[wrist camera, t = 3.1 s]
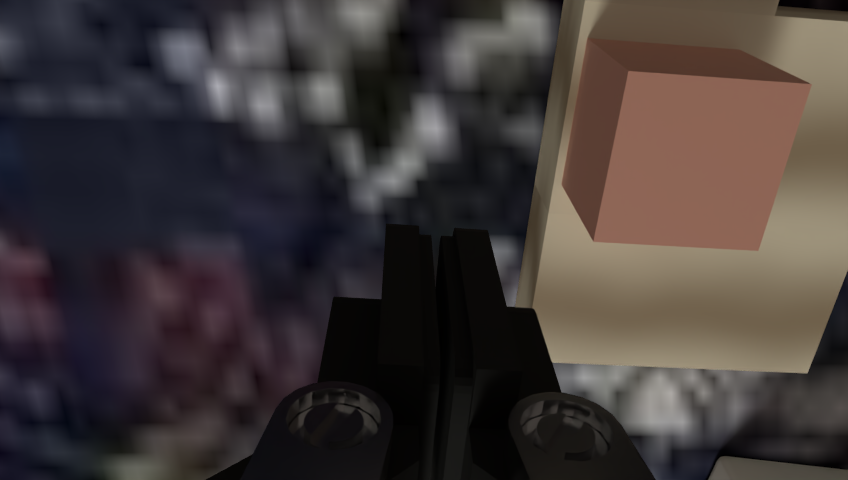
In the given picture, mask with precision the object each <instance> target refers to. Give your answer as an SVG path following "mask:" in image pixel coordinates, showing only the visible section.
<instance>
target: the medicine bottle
mask: <svg viewBox="0 0 848 480" xmlns="http://www.w3.org/2000/svg"><path fill="white" fill-rule="evenodd" d="M708 480H848V470H844V469H835V468H827V467H818V466H809V465H800V464H792V463H783V462H774V461H765V460H757V459H748V458H739V457H730V456H722V457H720V458H719V459H718V460H717V462H716V464H715V466H714V468H713V470H712V472H711V474H710V477H709V479H708Z"/></svg>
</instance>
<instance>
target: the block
mask: <svg viewBox="0 0 848 480" xmlns="http://www.w3.org/2000/svg"><path fill="white" fill-rule="evenodd" d="M811 86H812V84H810V83H808V82H806V81H804V80H802V79H800V78H798V77H796V76H794V75H792V74H790V73H787V72H785V71H783V70H781V69H779V68H777V67H775V66H773V65H771V64H769V63H767V62H764V61H762V60H760V59H758V58H756V57H754V56H752V55H750V54H748V53H746V52H744V51H742V50H738V49H725V48H712V47H698V46H685V45H672V44H659V43H645V42H632V41H619V40H605V39H592V38H587V42H586V48H585V54H584V59H583V65H582V71H581V76H580V82H579V88H578V93H577V99H576V105H575V110H574V116H573V122H572V127H571V133H570V139H569V144H568V150H567V155H566V161H565V167H564V172H563V178H562V184H561V185H562V187H563V189H564V190H565V192H566V194H567V196H568V197H569V199H570V201H571V203H572V205H573V206H574V208H575V210H576V212H577V214H578V215H579V217H580V219H581V221H582V223H583V224H584V226H585V228H586V230H587V231H588V233H589V235H590V237H591V239H592V240H593V242H604V243H622V244H640V245H659V246H677V247H695V248H713V249H732V250H750V251H759V247H760V244H761V241H762V238H763V235H764V232H765V229H766V226H767V223H768V219H769V216H770V213H771V210H772V207H773V204H774V201H775V198H776V195H777V191H778V188H779V185H780V182H781V179H782V176H783V173H784V170H785V167H786V163H787V160H788V157H789V154H790V151H791V148H792V145H793V142H794V139H795V135H796V132H797V129H798V126H799V123H800V120H801V117H802V114H803V111H804V107H805V104H806V101H807V98H808V95H809V92H810V89H811Z"/></svg>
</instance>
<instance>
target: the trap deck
mask: <svg viewBox="0 0 848 480" xmlns="http://www.w3.org/2000/svg"><path fill="white" fill-rule="evenodd" d="M778 3H779V0H564V2H563V8H562V15H561V21H560V27H559V34H558V40H557V46H556V52H555V59H554V65H553V71H552V78H551V84H550V90H549V96H548V103H547V109H546V115H545V122H544V128H543V134H542V141H541V147H540V153H539V159H538V166H537V172H536V178H535V185H534V191H533V197H532V203H531V210H530V216H529V222H528V229H527V235H526V241H525V248H524V254H523V260H522V266H521V273H520V279H519V285H518V292H517V298H516V304H515V307H522V308H533V309H534V310H535V312H536V314H537V317H538V320H539V323H540V326H541V330H542V333H543V336H544V339H545V342H546V345H547V348H548V352H549V355H550V358H551V361H552V362H553V363H577V364H600V365H623V366H647V367H670V368H694V369H717V370H741V371H764V372H787V373H808V371H809V368H810V366H811V363H812V360H813V358H814V355H815V353H816V350H817V348H818V345H819V342H820V340H821V337H822V335H823V332H824V330H825V327H826V324H827V322H828V319H829V317H830V314H831V312H832V309H833V306H834V304H835V301H836V299H837V296H838V294H839V291H840V288H841V286H842V283H843V281H844V278H845V276H846V273H847V270H848V12H846V11H834V10H821V9H809V8H796V7H784V6H778ZM587 38H592V39H605V40H619V41H632V42H645V43H659V44H672V45H685V46H698V47H712V48H725V49H738V50H742V51H744V52H746V53H748V54H750V55H752V56H754V57H756V58H758V59H760V60H762V61H764V62H767V63H769V64H771V65H773V66H775V67H777V68H779V69H781V70H783V71H785V72H787V73H790V74H792V75H794V76H796V77H798V78H800V79H802V80H804V81H806V82H808V83H810V84H812V86H811V89H810V92H809V95H808V98H807V101H806V104H805V107H804V111H803V114H802V117H801V120H800V123H799V126H798V129H797V132H796V135H795V139H794V142H793V145H792V148H791V151H790V154H789V157H788V160H787V163H786V167H785V170H784V173H783V176H782V179H781V182H780V185H779V188H778V191H777V195H776V198H775V201H774V204H773V207H772V210H771V213H770V216H769V219H768V223H767V226H766V229H765V232H764V235H763V238H762V241H761V244H760V247H759V251H750V250H732V249H713V248H695V247H677V246H659V245H640V244H622V243H604V242H593V240H592V239H591V237H590V235H589V233H588V231H587V230H586V228H585V226H584V224H583V223H582V221H581V219H580V217H579V215H578V214H577V212H576V210H575V208H574V206H573V205H572V203H571V201H570V199H569V197H568V196H567V194H566V192H565V190H564V189H563V187H562V185H561V184H562V178H563V172H564V167H565V161H566V155H567V150H568V144H569V139H570V133H571V127H572V122H573V116H574V110H575V105H576V99H577V93H578V88H579V82H580V76H581V71H582V65H583V59H584V54H585V48H586V42H587Z"/></svg>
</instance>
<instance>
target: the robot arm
mask: <svg viewBox="0 0 848 480" xmlns="http://www.w3.org/2000/svg"><path fill="white" fill-rule="evenodd" d="M429 479H430V480H656V479H655V478H654V476H653V475H652V473H651V471H650V470H649V468H648V467H647V465H646V464H645V462H644V460H643V459H642V457H641V456H640V454H639V452H638V451H637V449H636V448H635V446H634V444H633V443H632V441H631V440H630V438H629V436H628V435H627V433H626V432H625V430H624V429H623V427H622V425H621V424H620V423H619V422H618V421H617V420H616V418H615V417H614V416H613V415H612V414H611V413H610V412H608V411H607V410H605V409H604V408H602V407H601V406H600V405H598V404H596V403H594V402H592V401H589V400H587V399H585V398H583V397H579V396H575V395H571V394H567V393H561V390H560V386H559V383H558V380H557V377H556V374H555V371H554V367H553V364H552V361H551V358H550V355H549V352H548V348H547V345H546V342H545V339H544V336H543V333H542V330H541V326H540V323H539V320H538V317H537V314H536V312H535V310H534V309H533V308H522V307H507V306H506V302H505V298H504V294H503V290H502V286H501V282H500V278H499V274H498V270H497V266H496V262H495V258H494V254H493V250H492V246H491V242H490V238H489V234H488V231H487V230H477V229H461V228H454V231H453V236H441V239H440V246H439V257H438V267H437V277H436V287H435V279H434V266H433V252H432V239H431V235H420V234H419V226H414V225H398V224H386V235H385V251H384V267H383V283H382V299H365V298H348V297H334V298H333V302H332V307H331V312H330V318H329V323H328V329H327V334H326V339H325V345H324V350H323V356H322V361H321V366H320V372H319V377H318V383H313V384H310V385H307V386H304V387H302V388H299V389H297V390H295V391H294V392H292V393H291V394H289V395H288V396H286V397H285V398H284V399H283V400H282V401H281V403H280V404H279V405H278V406H277V408H276V409H275V411H274V413H273V415H272V417H271V419H270V421H269V423H268V425H267V427H266V429H265V431H264V433H263V435H262V437H261V439H260V441H259V443H258V445H257V447H256V449H255V451H254V453H253V454H252V455H251V456H249V457H247V458H245V459H243V460H241V461H240V462H238V463H236V464H234V465H232V466H230V467H228V468H227V469H225V470H223V471H221V472H219V473H217V474H215V475H214V476H212V477H210V478H208V479H206V480H429Z"/></svg>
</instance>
